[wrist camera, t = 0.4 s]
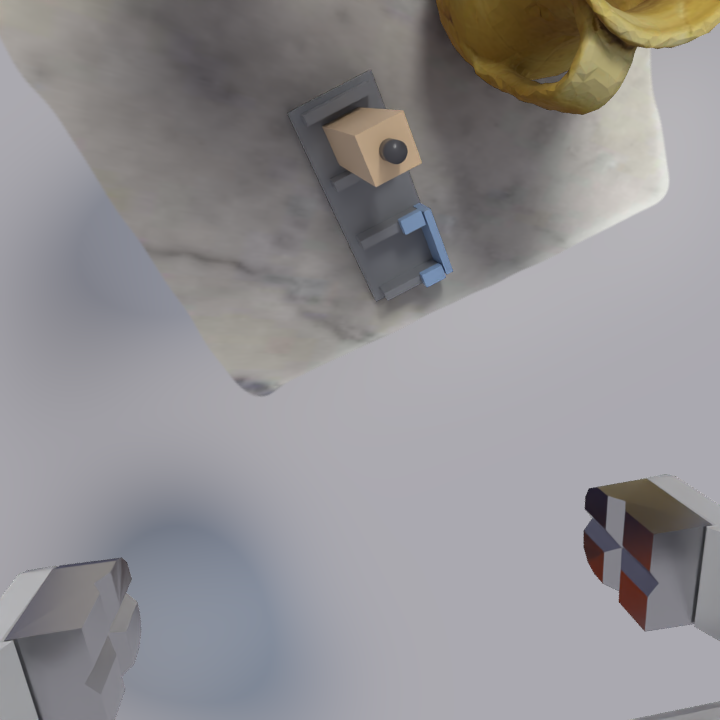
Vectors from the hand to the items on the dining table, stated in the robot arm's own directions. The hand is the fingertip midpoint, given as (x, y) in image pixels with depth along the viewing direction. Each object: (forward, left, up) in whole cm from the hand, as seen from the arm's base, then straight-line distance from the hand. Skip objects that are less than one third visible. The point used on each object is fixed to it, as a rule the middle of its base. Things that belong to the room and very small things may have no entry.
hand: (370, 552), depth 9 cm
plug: (-8, +6, -48) cm, 49 cm away
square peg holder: (-5, +12, -49) cm, 51 cm away
